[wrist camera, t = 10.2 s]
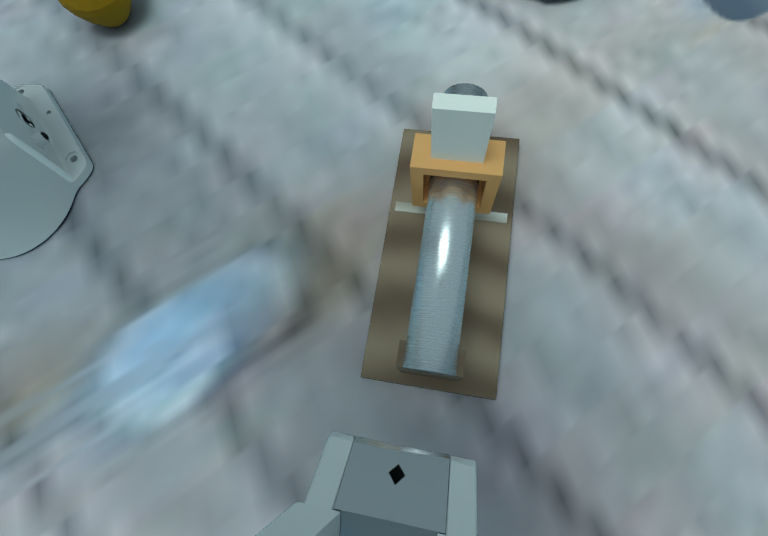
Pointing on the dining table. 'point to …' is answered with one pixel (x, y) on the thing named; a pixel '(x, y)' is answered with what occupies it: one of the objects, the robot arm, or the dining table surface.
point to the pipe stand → (481, 290)
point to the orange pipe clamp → (459, 148)
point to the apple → (100, 10)
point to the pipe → (442, 270)
